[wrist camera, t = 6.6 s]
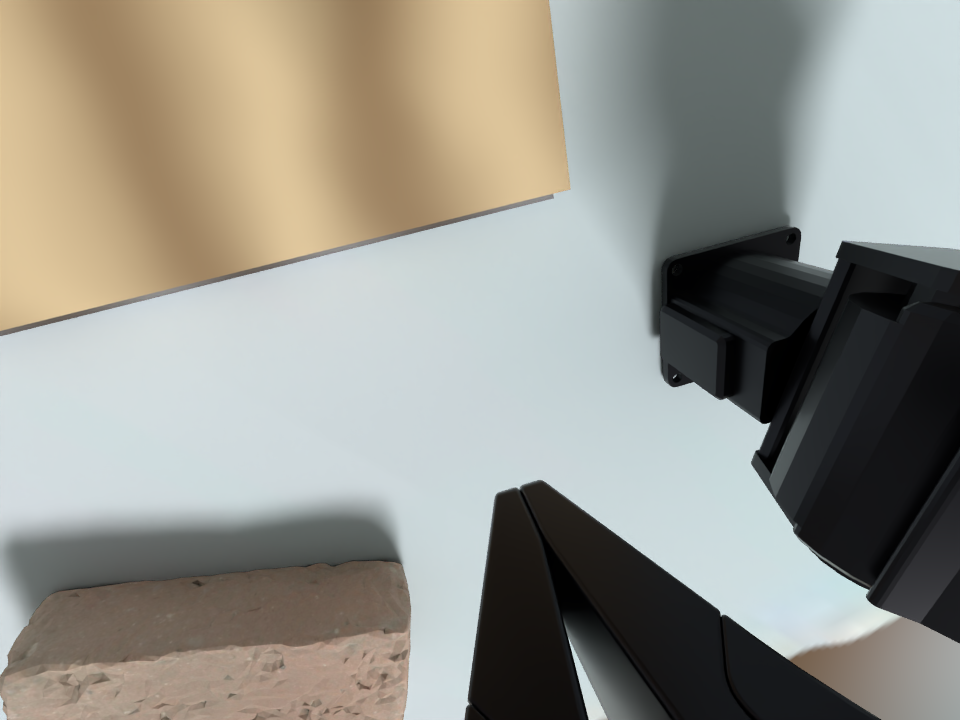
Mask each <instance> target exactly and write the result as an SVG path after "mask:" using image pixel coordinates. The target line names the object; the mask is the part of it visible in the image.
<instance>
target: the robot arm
mask: <svg viewBox="0 0 960 720" xmlns="http://www.w3.org/2000/svg"><path fill="white" fill-rule="evenodd" d="M788 235H789V238H788V240H787V241H786V239H787V237H788ZM800 242H801V232H800V230H799V229H798V228H796V227H790V226H785V227H781V228H777V229H774V230H770V231H766V232H762V233H759V234H755V235H751V236H748V237H744V238H740V239H736V240H733V241H729V242H725V243H722V244H718V245H714V246H710V247H707V248H703V249H699V250H696V251H692V252H688V253H684V254H681V255H677V256H673V257H671V258H668V259H667V260H666V261H665V262H664V264H663V266H662V271H661V272H662V308H661V310H660V343H661V358H662V359H663V378H664V381H665V382H666V383H667V384H669V385H670V386H672V387H678V386H682V385H685V384H688V383H692V382H695V383H696V384H698V385H699V386H700V387H702V388H703V389H704V390H706V391H707V392H708V393H710V394H711V395H713V396H714V397H716V398H717V399H719V400H723V399H726V398H727V399H728V400H730V401H731V402H733V403H734V404H735V405H737V406H738V407H740V408H741V409H742V410H744V411H745V412H747V413H748V414H749V415H751V416H752V417H754V418H755V419H756V420H758V421H759V422H761V423H762V424H767V423H770V422H771V423H770V425H769V428H768V430H767V433H766V435H765V437H764V440H763V442H762V445H761V447H760V449H759V450H756V452H755V454H754V456H753V459H752V461H751V464H752V466H753V467H754V469H755V470H756V472H757V473H758V475H759V476H760V478H761V479H762V481H763V482H764V484H765V485H766V487H767V488H768V490H769V491H770V493H771V494H772V496H773V497H774V499H775V500H776V502H777V503H778V505H779V506H780V508H781V509H782V511H783V512H784V514H785V515H786V517H787V518H788V520H789V521H790V523H791V524H792V526H793V527H794V528H793V531H794V533H795V535H796V536H797V537H798V539H799V540H800V541H801V542H802V543H803V544H804V545H806V546H807V547H808V548H809V549H810V550H811V551H812V552H813V553H814V554H815V555H816V556H817V557H818V558H819V559H820V560H821V561H822V562H823V563H825V564H826V565H828V566H829V567H831V568H832V569H833V570H835V571H836V572H837V573H839V574H840V575H842V576H844V577H845V578H847V579H849V580H850V581H852V582H854V583H856V584H857V585H859V586H861V587H864V588H866V589H868V590H869V591H868V593H867V594H866V598H867V600H868V601H869V602H870V603H871V604H873V605H874V606H876V607H878V608H881V609H883V610H886V611H889V612H891V613H894V614H897V615H899V616H902V617H905V618H907V619H910V620H913V621H915V622H918V623H920V624H923V625H924V626H926V627H929V628H930V629H932V630H934V631H937V632H938V633H940V634H942V635H944V636H946V637H948V638H951V639H952V640H954V641H956V642H958V643H960V250H957V249H949V248H936V247H923V246H909V245H896V244H882V243H868V242H855V241H842V243H841V245H840V248H839V250H838V253H837V255H836V258H839V259H838V262H837V264H836V266H835V269H834V271H831V270H827V269H823V268H819V267H816V266H812V265H808V264H804V263H801V262H798V258H799V250H800ZM675 265H677V270H676V271H675V272H674V273H672V269H673V267H674V266H675ZM676 374H677V376H676V377H675V378H674V379H673V377H674V375H676ZM567 635H568V636H567ZM568 637H569V639H570V641H571V643H572V645H573V647H574V649H575V652H576V654H577V656H578V658H579V660H580V662H581V664H582V666H583V668H584V670H585V672H586V674H587V676H588V679H589V681H590V683H591V685H592V687H593V689H594V691H595V693H596V695H597V697H598V699H599V701H600V703H601V706H602V708H603V710H604V712H605V714H606V716H607V718H608V720H881V719H879V718H878V717H876V716H875V715H873V714H871V713H870V712H868V711H866V710H865V709H863V708H862V707H860V706H858V705H857V704H855V703H854V702H852V701H851V700H849V699H847V698H846V697H844V696H843V695H841V694H840V693H838V692H836V691H835V690H833V689H832V688H830V687H829V686H827V685H826V684H824V683H822V682H821V681H819V680H818V679H816V678H815V677H813V676H811V675H810V674H808V673H807V672H805V671H804V670H802V669H801V668H799V667H798V666H796V665H795V664H793V663H792V662H791V661H789V660H788V659H786V658H785V657H783V656H782V655H781V654H779V653H778V652H776V651H775V650H773V649H772V648H771V647H769V646H768V645H766V644H765V643H763V642H762V641H761V640H759V639H758V638H756V637H755V636H754V635H752V634H751V633H749V632H748V631H747V630H745V629H744V628H743V627H741V626H740V625H739V624H737V623H736V622H735V621H733V620H732V619H731V618H729V617H728V616H727V615H722V616H721V614H720V611H719V610H718V609H717V608H715V607H714V606H713V605H711V604H710V603H709V602H707V601H706V600H705V599H703V598H702V597H700V596H699V595H698V594H696V593H695V592H694V591H692V590H691V589H690V588H688V587H687V586H686V585H684V584H683V583H681V582H680V581H679V580H677V579H676V578H675V577H673V576H672V575H671V574H669V573H668V572H667V571H665V570H664V569H662V568H661V567H660V566H658V565H657V564H656V563H654V562H653V561H652V560H650V559H649V558H648V557H646V556H645V555H643V554H642V553H641V552H639V551H638V550H637V549H635V548H634V547H633V546H631V545H630V544H629V543H627V542H626V541H624V540H623V539H622V538H620V537H619V536H618V535H616V534H615V533H614V532H612V531H611V530H610V529H608V528H607V527H605V526H604V525H603V524H601V523H600V522H599V521H597V520H596V519H595V518H593V517H592V516H591V515H589V514H588V513H586V512H585V511H584V510H582V509H581V508H580V507H578V506H577V505H576V504H574V503H573V502H571V501H570V500H569V499H567V498H566V497H565V496H563V495H562V494H561V493H559V492H558V491H557V490H555V489H554V488H552V487H551V486H550V485H548V484H547V483H546V482H544V481H542V480H537V481H534V482H531V483H528V484H524V485H522V486H521V487H520V490H519V489H518V488H511V489H508V490H505V491H502V492H499V493H497V494H496V496H495V500H494V507H493V515H492V522H491V530H490V537H489V544H488V552H487V559H486V567H485V574H484V582H483V589H482V596H481V604H480V611H479V619H478V626H477V634H476V641H475V648H474V656H473V663H472V671H471V678H470V685H469V693H468V703H469V705H468V706H467V707H466V713H465V720H589V719H588V715H587V711H586V707H585V703H584V699H583V695H582V691H581V687H580V683H579V679H578V675H577V671H576V667H575V663H574V659H573V655H572V651H571V647H570V644H569V640H568Z"/></svg>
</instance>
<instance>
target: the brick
mask: <svg viewBox="0 0 960 720" xmlns="http://www.w3.org/2000/svg"><path fill="white" fill-rule="evenodd" d="M410 621H411V605H410V596H409V591H408V584H407V580H406V577H405V573H404V569H403V567H402V564H399V563H395V562H383V561H350V562H346V563H343V564H340V565H338V566H329V565H328V564H327V563H317V564H314V565H311V566H308V567H299V566H295V567H286V568H276V569H259V570H254V571H249V572H233V573H227V574H218V575H213V576H198V577H186V578H178V579H171V580H165V581H139V582H128V583H123V584H114V585H108V586H101V587H94V588H86V589H74V590H66V591H59V592H56V593H54V594H52V595H50V596H48V597H47V598H46V599H45V600H44V601H43V602H42V603H41V605H40V607H38V608H37V609H36V611H35V612H34V614H33V615H32V617H31V618H30V620H29V625H28V626H26V627H24V629H23V630H22V631H21V633H20V634H19V636H18V637H17V639H16V640H15V642H14V644H13V646H12V648H11V650H10V652H9V654H8V655H7V656H8V666H7V667H6V668H5V670H4V671H3V673H2V674H1V676H0V696H1V697H2V699H3V701H4V702H3V711H4V712H5V714H6V715H7V720H403V717H404V711H405V707H406V701H407V690H408V669H409V655H410Z"/></svg>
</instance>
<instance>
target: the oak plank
mask: <svg viewBox="0 0 960 720" xmlns="http://www.w3.org/2000/svg"><path fill="white" fill-rule="evenodd" d="M566 190H570V181H569V172H568V163H567V155H566V146H565V137H564V128H563V120H562V111H561V102H560V93H559V85H558V76H557V67H556V59H555V50H554V41H553V32H552V24H551V15H550V6H549V0H0V331H2V330H6V329H10V328H14V327H18V326H22V325H26V324H30V323H34V322H38V321H42V320H46V319H50V318H54V317H59V316H63V315H67V314H71V313H75V312H79V311H83V310H87V309H91V308H95V307H99V306H103V305H107V304H111V303H115V302H119V301H123V300H127V299H131V298H135V297H139V296H143V295H147V294H151V293H155V292H159V291H163V290H167V289H171V288H175V287H179V286H183V285H187V284H191V283H195V282H199V281H203V280H207V279H211V278H215V277H220V276H224V275H228V274H232V273H236V272H240V271H244V270H248V269H252V268H256V267H260V266H264V265H268V264H272V263H276V262H280V261H284V260H288V259H292V258H296V257H300V256H304V255H308V254H312V253H316V252H320V251H324V250H328V249H332V248H336V247H340V246H344V245H348V244H352V243H356V242H360V241H364V240H368V239H372V238H376V237H381V236H385V235H389V234H393V233H397V232H401V231H405V230H409V229H413V228H417V227H421V226H425V225H429V224H433V223H437V222H441V221H445V220H449V219H453V218H457V217H461V216H465V215H469V214H473V213H477V212H481V211H485V210H489V209H493V208H497V207H501V206H505V205H509V204H513V203H517V202H521V201H525V200H529V199H533V198H537V197H542V196H546V195H550V194H554V193H558V192H562V191H566Z"/></svg>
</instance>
